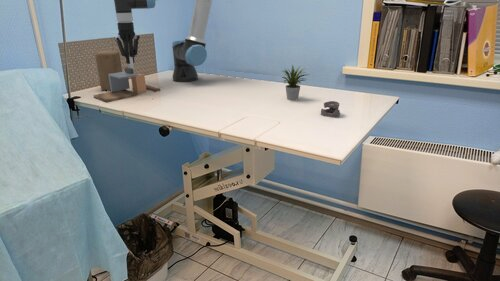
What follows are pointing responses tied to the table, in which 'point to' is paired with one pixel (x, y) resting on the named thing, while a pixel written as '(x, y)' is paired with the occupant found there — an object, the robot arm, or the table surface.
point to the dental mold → (331, 109)
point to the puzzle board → (121, 94)
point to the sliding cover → (121, 79)
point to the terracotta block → (138, 83)
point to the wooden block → (107, 66)
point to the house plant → (293, 83)
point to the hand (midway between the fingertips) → (131, 69)
